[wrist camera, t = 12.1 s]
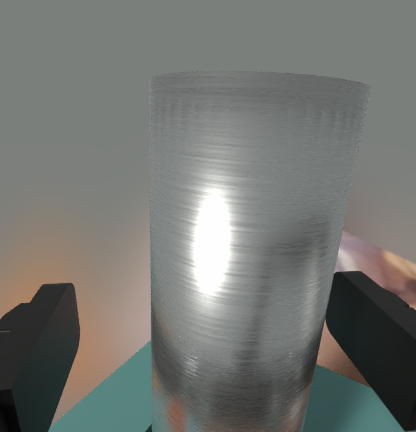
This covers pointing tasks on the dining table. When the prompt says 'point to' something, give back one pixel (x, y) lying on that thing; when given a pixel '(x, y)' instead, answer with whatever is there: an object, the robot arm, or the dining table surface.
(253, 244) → the steel post
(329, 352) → the dining table surface
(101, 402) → the well block
